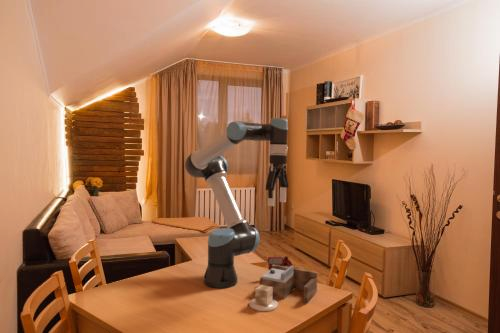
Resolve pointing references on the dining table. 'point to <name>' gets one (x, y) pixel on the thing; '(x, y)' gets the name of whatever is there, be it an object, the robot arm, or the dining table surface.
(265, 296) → the block
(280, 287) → the wooden frame
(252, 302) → the dish
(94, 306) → the dining table surface
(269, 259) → the toy fire truck
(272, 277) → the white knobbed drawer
